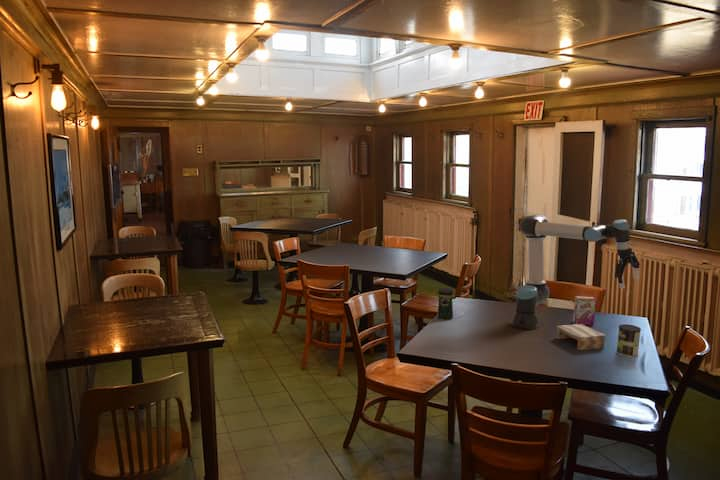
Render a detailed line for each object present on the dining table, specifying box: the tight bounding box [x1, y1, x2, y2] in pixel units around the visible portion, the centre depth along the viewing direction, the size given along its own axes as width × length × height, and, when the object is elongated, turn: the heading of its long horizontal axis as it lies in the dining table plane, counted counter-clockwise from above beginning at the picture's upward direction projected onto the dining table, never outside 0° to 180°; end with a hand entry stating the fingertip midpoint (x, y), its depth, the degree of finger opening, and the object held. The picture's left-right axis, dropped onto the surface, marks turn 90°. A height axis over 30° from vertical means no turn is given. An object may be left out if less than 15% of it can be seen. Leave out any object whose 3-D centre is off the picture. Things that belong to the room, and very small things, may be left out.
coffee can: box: [616, 323, 642, 358], centre depth 298 cm, size 10×10×14 cm
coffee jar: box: [436, 287, 455, 320], centre depth 355 cm, size 10×8×19 cm
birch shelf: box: [556, 323, 606, 351], centre depth 314 cm, size 16×20×7 cm
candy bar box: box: [572, 295, 597, 326], centre depth 347 cm, size 11×5×16 cm, turn 84°
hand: (629, 283), depth 321 cm, fingers open, 13 cm apart
